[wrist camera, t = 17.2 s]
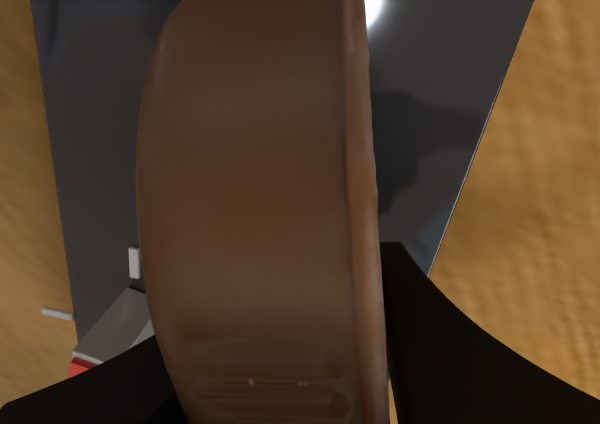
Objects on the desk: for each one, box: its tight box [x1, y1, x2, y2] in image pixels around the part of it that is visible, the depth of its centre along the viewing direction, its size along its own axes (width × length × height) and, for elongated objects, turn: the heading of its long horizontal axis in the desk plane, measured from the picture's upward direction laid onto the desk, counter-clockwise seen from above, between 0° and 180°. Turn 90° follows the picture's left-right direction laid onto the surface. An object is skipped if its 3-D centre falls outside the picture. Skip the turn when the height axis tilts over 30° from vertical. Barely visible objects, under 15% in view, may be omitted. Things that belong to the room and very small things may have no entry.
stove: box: [30, 0, 534, 382], centre depth 15 cm, size 15×19×2 cm
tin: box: [135, 0, 390, 424], centre depth 9 cm, size 15×3×8 cm, turn 8°
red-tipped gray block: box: [69, 288, 155, 378], centre depth 15 cm, size 4×2×4 cm, turn 160°
